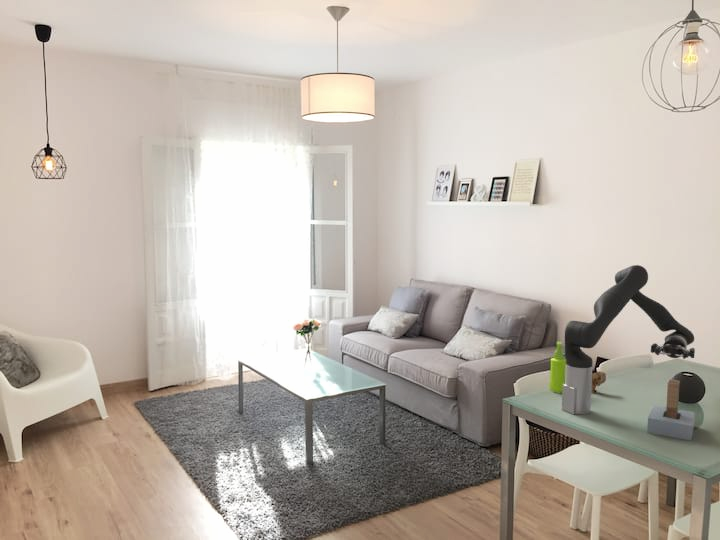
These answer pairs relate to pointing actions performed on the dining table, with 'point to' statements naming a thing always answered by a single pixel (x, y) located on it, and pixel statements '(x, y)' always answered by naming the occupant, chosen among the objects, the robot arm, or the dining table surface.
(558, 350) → the green bottle
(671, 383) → the slat
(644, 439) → the dining table surface
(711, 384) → the dining table surface
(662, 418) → the grey slotted block
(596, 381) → the lion figurine
